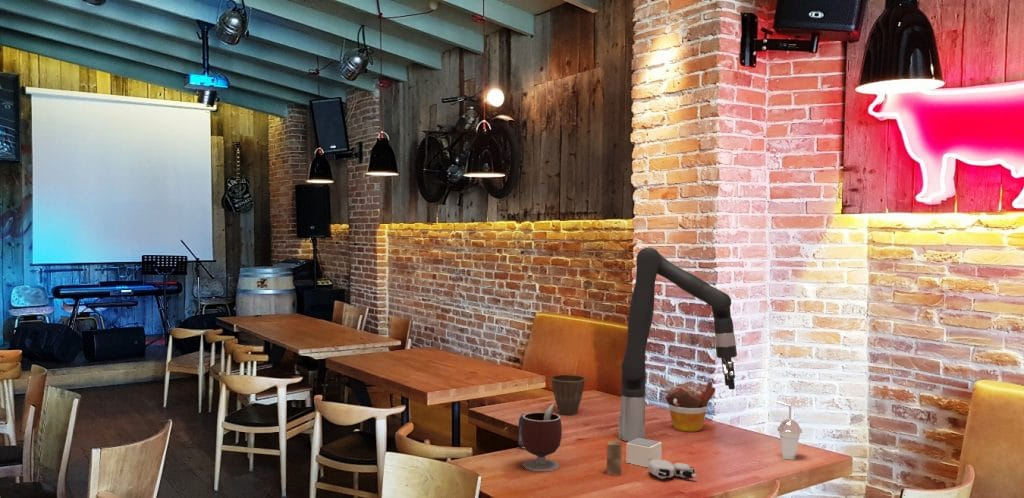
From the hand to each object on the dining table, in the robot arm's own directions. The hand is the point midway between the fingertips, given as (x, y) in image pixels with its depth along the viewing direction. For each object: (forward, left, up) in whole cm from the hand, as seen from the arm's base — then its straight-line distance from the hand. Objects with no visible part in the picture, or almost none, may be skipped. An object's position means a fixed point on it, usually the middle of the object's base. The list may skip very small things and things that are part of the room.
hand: (730, 387), depth 279 cm
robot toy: (-2, -47, -23) cm, 52 cm away
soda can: (-58, -50, -23) cm, 80 cm away
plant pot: (-76, +5, -23) cm, 79 cm away
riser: (-15, -40, -22) cm, 48 cm away
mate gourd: (-41, -65, -23) cm, 80 cm away
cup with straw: (+22, 0, -23) cm, 32 cm away
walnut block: (-18, -56, -23) cm, 63 cm away
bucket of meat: (-23, +15, -23) cm, 35 cm away
